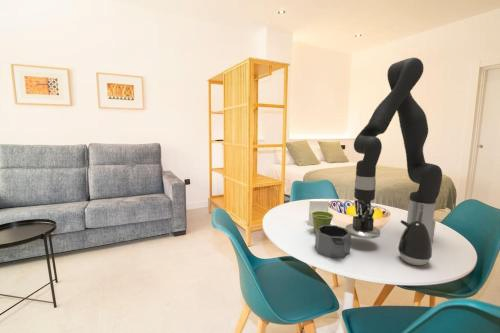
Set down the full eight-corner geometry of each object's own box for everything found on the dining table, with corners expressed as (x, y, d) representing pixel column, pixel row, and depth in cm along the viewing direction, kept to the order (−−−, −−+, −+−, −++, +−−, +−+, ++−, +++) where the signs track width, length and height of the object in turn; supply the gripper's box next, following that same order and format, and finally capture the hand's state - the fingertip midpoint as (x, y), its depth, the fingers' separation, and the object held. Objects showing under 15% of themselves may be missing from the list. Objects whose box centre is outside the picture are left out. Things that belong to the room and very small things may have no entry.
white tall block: (324, 220, 134) (326, 197, 132) (329, 227, 125) (331, 203, 123) (306, 220, 134) (308, 197, 132) (310, 227, 125) (311, 202, 123)
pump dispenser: (399, 251, 102) (403, 214, 99) (431, 261, 95) (437, 220, 93) (393, 262, 94) (398, 221, 91) (428, 272, 87) (434, 229, 85)
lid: (371, 225, 113) (372, 211, 112) (386, 238, 100) (387, 223, 99) (341, 225, 113) (341, 212, 112) (352, 238, 100) (352, 223, 99)
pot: (340, 241, 110) (341, 223, 109) (355, 262, 93) (357, 241, 92) (311, 240, 110) (312, 222, 109) (321, 261, 94) (323, 240, 92)
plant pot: (333, 238, 113) (334, 218, 112) (310, 236, 115) (311, 217, 114) (331, 229, 122) (332, 211, 121) (310, 227, 124) (311, 210, 123)
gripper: (383, 191, 97) (380, 235, 99) (366, 182, 110) (364, 221, 113) (362, 191, 97) (360, 235, 99) (349, 183, 111) (347, 222, 113)
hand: (362, 228), depth 106 cm, fingers closed on lid, 3 cm apart
